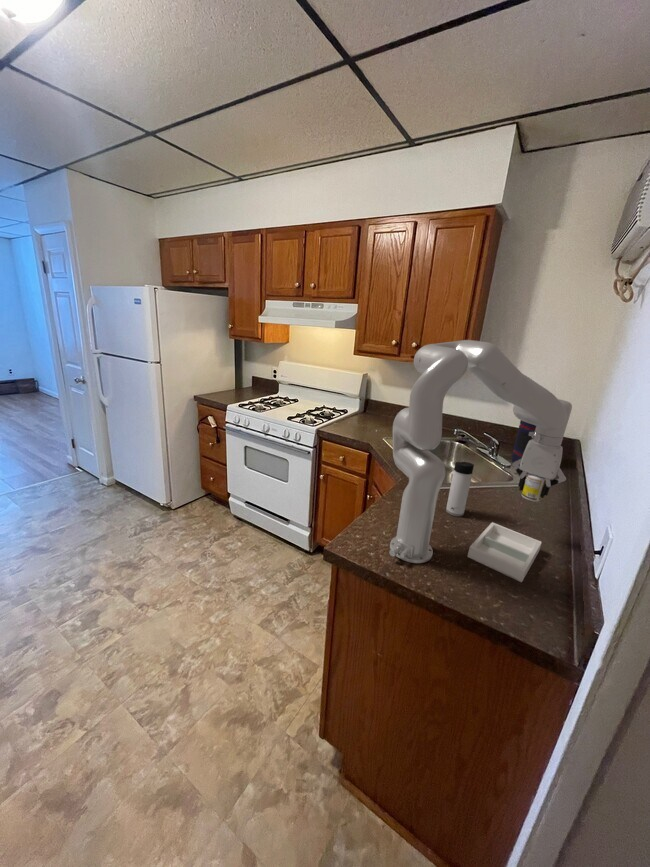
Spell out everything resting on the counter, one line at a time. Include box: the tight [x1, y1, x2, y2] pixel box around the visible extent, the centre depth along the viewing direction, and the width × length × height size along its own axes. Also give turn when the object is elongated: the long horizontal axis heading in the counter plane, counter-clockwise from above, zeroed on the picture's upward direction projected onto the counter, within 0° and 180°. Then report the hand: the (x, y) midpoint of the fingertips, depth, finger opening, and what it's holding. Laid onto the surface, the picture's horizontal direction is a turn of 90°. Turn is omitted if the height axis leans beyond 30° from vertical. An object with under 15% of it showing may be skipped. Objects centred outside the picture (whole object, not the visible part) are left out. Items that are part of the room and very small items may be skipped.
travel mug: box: [445, 461, 475, 517], centre depth 129 cm, size 6×7×20 cm
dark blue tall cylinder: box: [510, 420, 536, 464], centre depth 181 cm, size 14×12×30 cm
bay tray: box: [467, 521, 542, 583], centre depth 109 cm, size 20×15×4 cm
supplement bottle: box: [521, 473, 546, 502], centre depth 114 cm, size 6×6×10 cm
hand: (532, 492), depth 115 cm, fingers closed on supplement bottle, 5 cm apart
